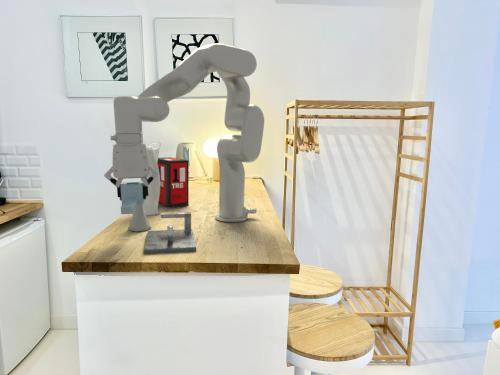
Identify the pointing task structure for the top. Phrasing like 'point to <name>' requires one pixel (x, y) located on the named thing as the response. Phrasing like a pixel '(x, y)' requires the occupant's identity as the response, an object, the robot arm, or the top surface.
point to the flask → (139, 220)
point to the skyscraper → (154, 186)
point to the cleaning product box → (173, 182)
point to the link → (131, 196)
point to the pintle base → (164, 247)
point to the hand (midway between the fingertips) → (133, 198)
